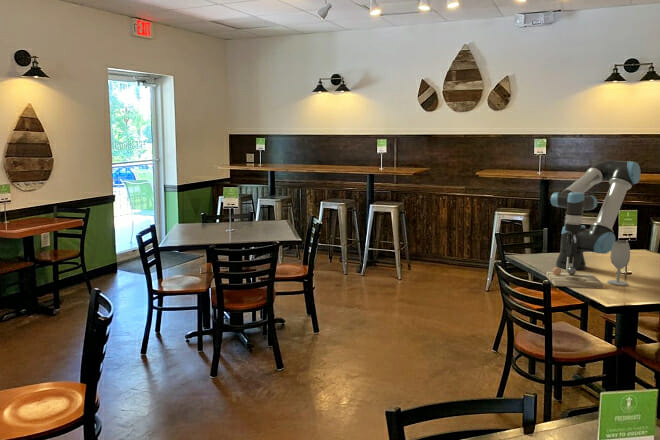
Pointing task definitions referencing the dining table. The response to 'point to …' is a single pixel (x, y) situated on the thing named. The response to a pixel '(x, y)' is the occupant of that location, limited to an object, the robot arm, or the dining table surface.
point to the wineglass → (620, 259)
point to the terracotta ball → (556, 270)
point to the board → (574, 280)
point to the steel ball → (571, 271)
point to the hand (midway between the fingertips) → (569, 269)
